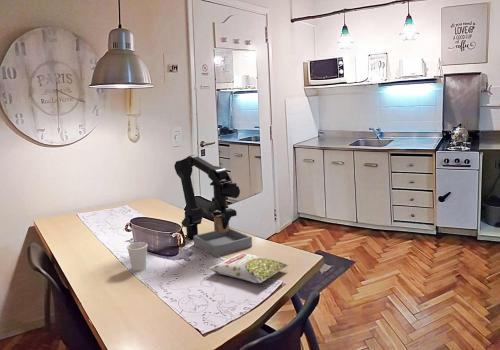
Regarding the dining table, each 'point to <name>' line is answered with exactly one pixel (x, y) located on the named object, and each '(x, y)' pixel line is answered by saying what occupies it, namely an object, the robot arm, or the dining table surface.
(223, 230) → the walnut block
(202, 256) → the dining table surface
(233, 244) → the grey bin
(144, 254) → the dixie cup
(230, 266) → the frozen beans
